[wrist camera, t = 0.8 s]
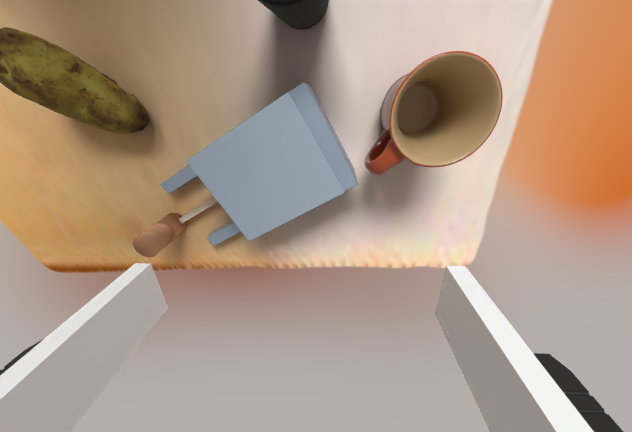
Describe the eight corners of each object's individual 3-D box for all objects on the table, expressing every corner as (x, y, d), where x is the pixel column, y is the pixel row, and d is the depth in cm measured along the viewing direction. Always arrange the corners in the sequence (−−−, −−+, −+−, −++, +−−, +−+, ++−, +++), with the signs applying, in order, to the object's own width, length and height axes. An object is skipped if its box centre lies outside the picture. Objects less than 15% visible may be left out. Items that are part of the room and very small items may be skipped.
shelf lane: (169, 179, 35) (130, 199, 29) (310, 85, 29) (302, 81, 22) (218, 239, 39) (195, 268, 32) (353, 167, 33) (358, 185, 26)
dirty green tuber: (127, 154, 34) (72, 169, 27) (40, 66, 30) (-52, 57, 23) (165, 116, 32) (115, 121, 24) (75, 15, 28) (-16, -14, 20)
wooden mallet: (157, 213, 38) (122, 237, 32) (294, 127, 31) (285, 135, 25) (180, 238, 40) (151, 265, 33) (314, 162, 33) (310, 177, 27)
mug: (418, 46, 27) (463, 20, 18) (463, 109, 29) (524, 114, 20) (337, 129, 31) (339, 143, 22) (382, 178, 33) (400, 208, 24)
